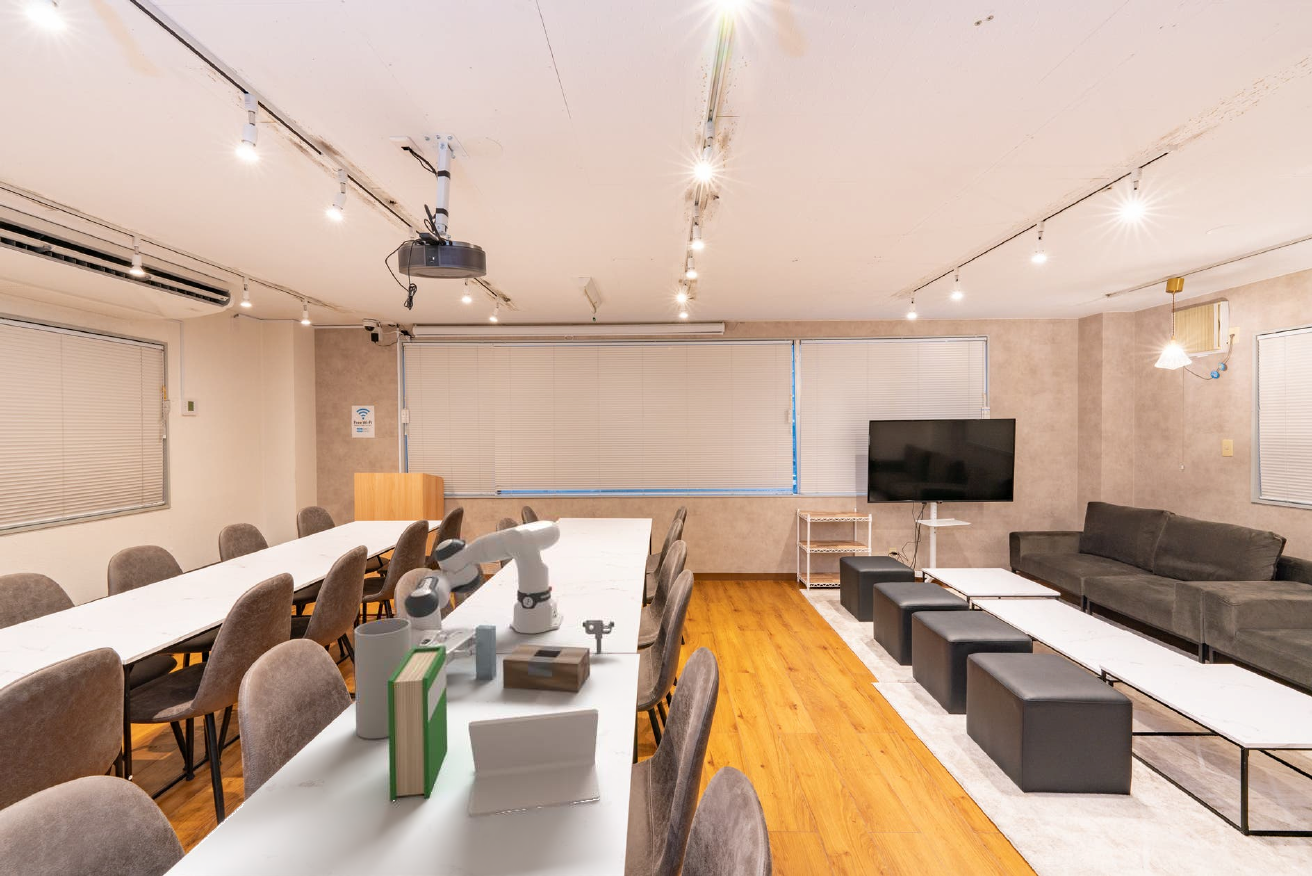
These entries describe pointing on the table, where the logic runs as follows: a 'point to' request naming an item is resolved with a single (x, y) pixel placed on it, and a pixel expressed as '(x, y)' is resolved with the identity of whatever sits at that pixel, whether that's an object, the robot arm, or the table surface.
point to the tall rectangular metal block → (485, 652)
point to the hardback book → (417, 721)
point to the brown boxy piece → (546, 668)
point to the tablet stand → (533, 761)
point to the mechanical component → (597, 630)
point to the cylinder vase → (377, 671)
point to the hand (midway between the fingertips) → (478, 647)
